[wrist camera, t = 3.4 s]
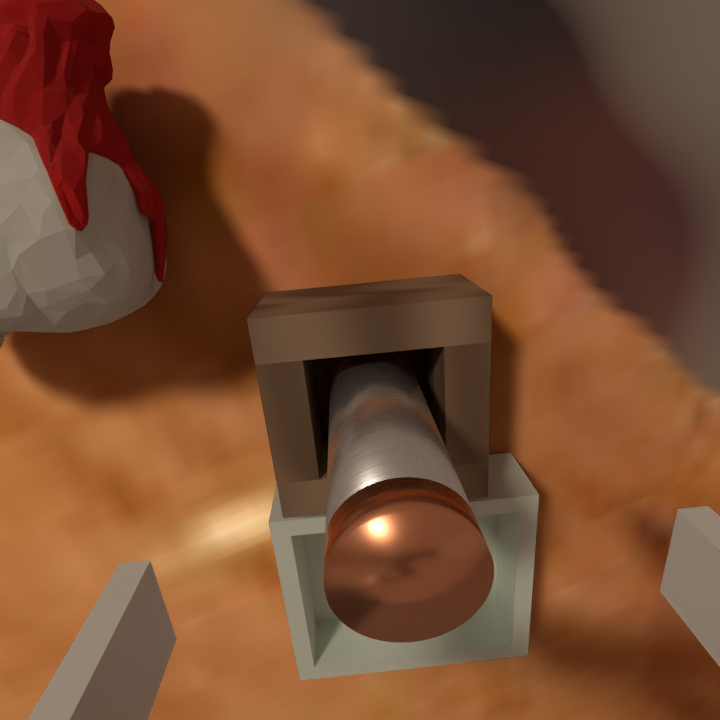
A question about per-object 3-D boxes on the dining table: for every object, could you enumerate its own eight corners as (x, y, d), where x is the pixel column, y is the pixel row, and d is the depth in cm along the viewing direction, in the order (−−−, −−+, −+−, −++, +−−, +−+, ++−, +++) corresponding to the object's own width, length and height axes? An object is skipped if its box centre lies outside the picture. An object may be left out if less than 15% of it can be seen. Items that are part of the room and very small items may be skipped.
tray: (304, 621, 31) (299, 680, 27) (278, 476, 27) (268, 522, 23) (504, 599, 31) (527, 655, 27) (510, 452, 27) (539, 494, 23)
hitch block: (292, 459, 26) (283, 518, 22) (265, 292, 23) (246, 319, 18) (461, 443, 26) (487, 497, 22) (460, 274, 23) (492, 295, 18)
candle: (-65, 328, 22) (-29, -7, 19) (167, 388, 24) (235, 89, 21) (-321, 379, 13) (-330, -227, 10) (75, 469, 15) (170, -31, 12)
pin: (334, 412, 25) (333, 650, 12) (326, 339, 24) (313, 522, 11) (412, 405, 25) (492, 633, 12) (408, 331, 24) (496, 503, 11)
